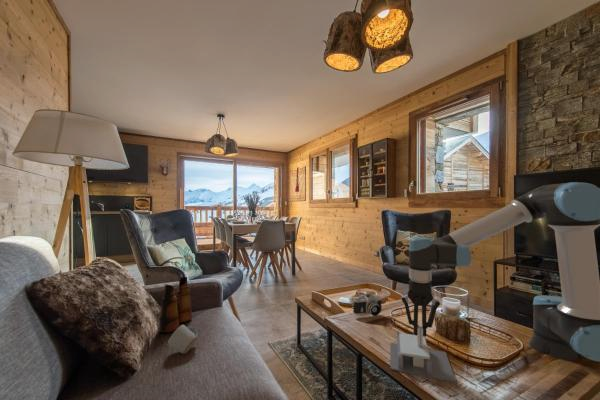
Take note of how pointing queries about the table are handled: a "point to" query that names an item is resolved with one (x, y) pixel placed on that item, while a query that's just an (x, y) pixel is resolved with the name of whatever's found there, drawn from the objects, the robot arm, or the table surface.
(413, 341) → the cover
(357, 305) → the camera
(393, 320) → the table surface
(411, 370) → the grey open box
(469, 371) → the table surface
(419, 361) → the pale wooden block
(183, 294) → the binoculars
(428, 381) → the table surface
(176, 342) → the ceramic mug
